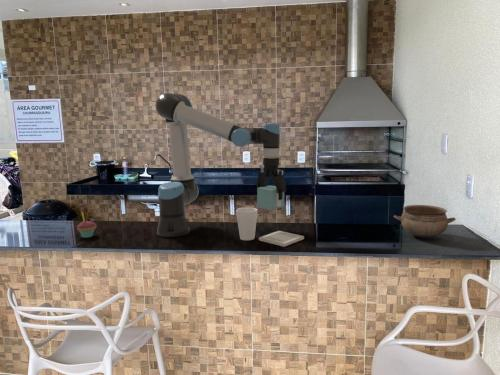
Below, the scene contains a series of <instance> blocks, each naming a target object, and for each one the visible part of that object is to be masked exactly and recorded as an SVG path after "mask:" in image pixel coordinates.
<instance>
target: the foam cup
mask: <svg viewBox="0 0 500 375" xmlns="http://www.w3.org/2000/svg"><path fill="white" fill-rule="evenodd" d="M258 214H259V213H258V208H256V207H238V208H236V210H235V215H236V219H237V227H238V232H239V239H240V240H242V241H252V240H255V236H256V228H257V227H256V226H257V222H258V220H257V219H258Z"/></svg>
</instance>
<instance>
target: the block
mask: <svg viewBox="0 0 500 375" xmlns="http://www.w3.org/2000/svg"><path fill="white" fill-rule="evenodd" d="M277 192H278V191H277V188H276V186H275V185H265V186H264V187H259V188H256V193H257V194H256V197H257V198H256V207H257V208H262V209H267V210H271V211H272V210H277V209H280V208H284V207H285V192H283V194H282V200H281V206H280V207H276V193H277Z"/></svg>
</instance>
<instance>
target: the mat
mask: <svg viewBox="0 0 500 375" xmlns="http://www.w3.org/2000/svg"><path fill="white" fill-rule="evenodd" d="M304 239H305V235H300V234H296V233H291V232H286V231H282V230H278V231H274V232H270V233H269V234H265V235H262V236H259V237H258V241H260V242H264V243H268V244H273V245H277V246H278V247H279V246H280V247H283V248H284V247H287V246H289V245H292V244H294V243H295V244H296V243H298V242H300V241H302V240H304Z"/></svg>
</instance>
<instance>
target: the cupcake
mask: <svg viewBox="0 0 500 375" xmlns="http://www.w3.org/2000/svg"><path fill="white" fill-rule="evenodd" d="M81 217H82V222H79V223H78V224H77V225H76V230H77V231H78V232H79V233H80V236H81V237H82V238H84V239H85V238H91V237H93V235H94V232H95V229H97V226H98V225H97V224H96V223H95V221H91V220H86V219H85V216H84V212H81Z"/></svg>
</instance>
